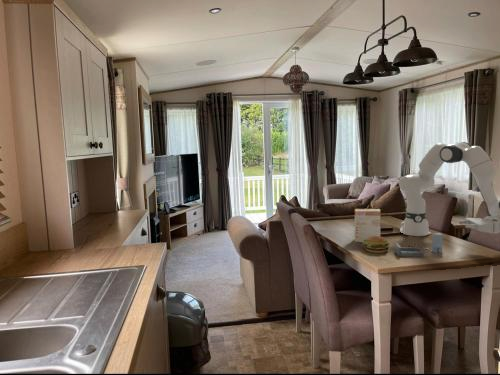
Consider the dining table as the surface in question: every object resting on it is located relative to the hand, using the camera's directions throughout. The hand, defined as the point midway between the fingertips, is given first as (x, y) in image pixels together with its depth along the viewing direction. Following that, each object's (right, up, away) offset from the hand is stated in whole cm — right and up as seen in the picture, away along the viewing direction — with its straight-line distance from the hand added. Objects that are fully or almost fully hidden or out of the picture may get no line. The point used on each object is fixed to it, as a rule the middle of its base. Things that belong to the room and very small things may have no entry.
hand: (462, 224), depth 208 cm
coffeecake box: (-42, -13, +30) cm, 53 cm away
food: (-43, -16, +10) cm, 47 cm away
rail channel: (-27, -16, +1) cm, 32 cm away
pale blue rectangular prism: (-12, -15, +4) cm, 20 cm away
